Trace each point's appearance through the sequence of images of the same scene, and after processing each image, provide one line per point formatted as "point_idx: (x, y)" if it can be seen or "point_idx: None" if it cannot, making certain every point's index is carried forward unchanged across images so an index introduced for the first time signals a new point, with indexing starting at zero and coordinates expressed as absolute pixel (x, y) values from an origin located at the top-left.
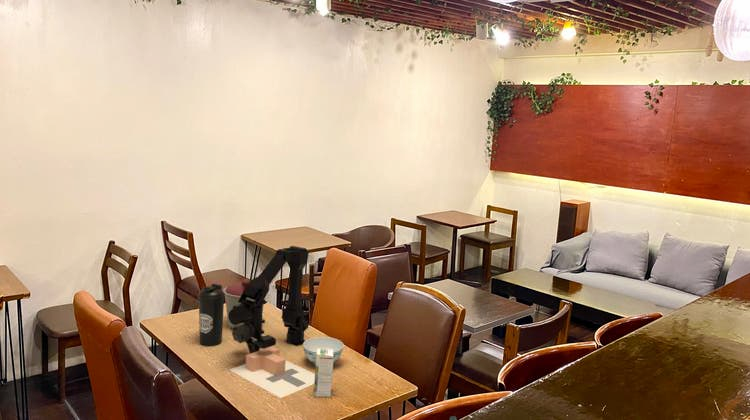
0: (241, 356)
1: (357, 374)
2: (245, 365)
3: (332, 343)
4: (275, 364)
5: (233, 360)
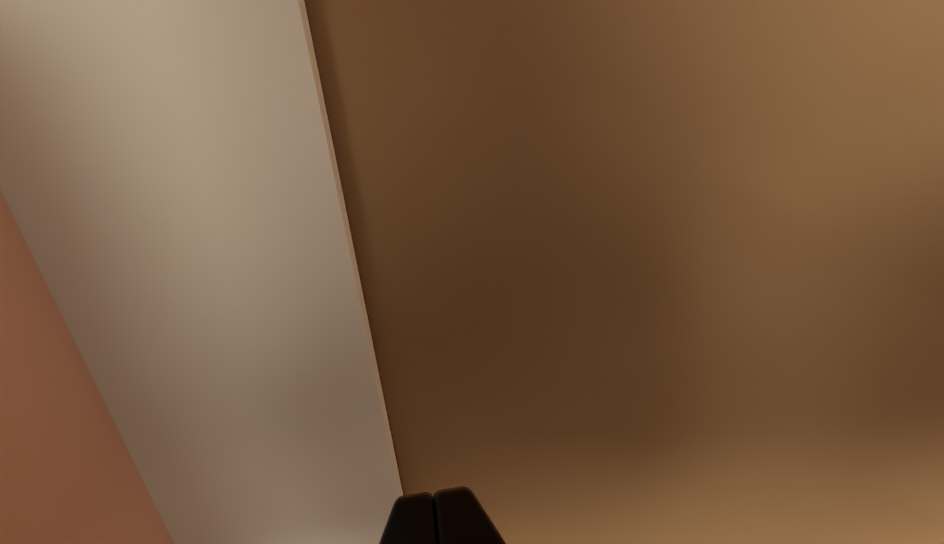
0: (915, 329)
1: None
2: (199, 121)
3: None
4: None
5: (933, 18)
